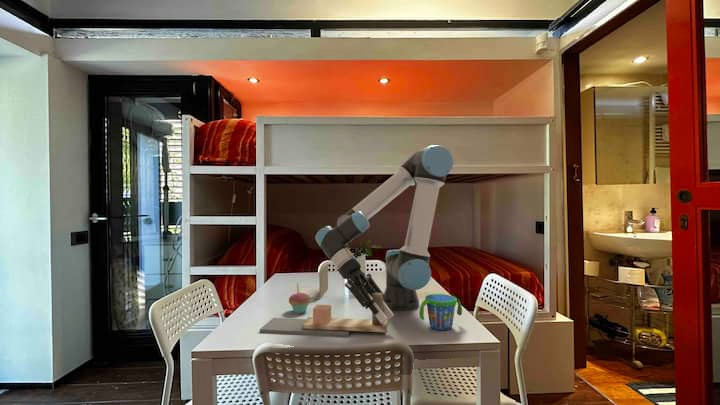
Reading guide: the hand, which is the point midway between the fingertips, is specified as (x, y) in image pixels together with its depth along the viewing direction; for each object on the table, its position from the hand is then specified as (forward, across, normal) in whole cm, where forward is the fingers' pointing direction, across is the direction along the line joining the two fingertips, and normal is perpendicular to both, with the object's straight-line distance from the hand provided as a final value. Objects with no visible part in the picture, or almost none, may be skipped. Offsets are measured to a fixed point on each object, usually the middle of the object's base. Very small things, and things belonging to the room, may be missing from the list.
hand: (387, 319), depth 122 cm
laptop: (-35, -25, -43) cm, 61 cm away
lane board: (-15, +10, -21) cm, 28 cm away
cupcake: (-26, -2, -33) cm, 42 cm away
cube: (-13, +8, -16) cm, 23 cm away
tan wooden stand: (-7, +5, -12) cm, 15 cm away
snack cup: (+12, -15, +5) cm, 20 cm away
